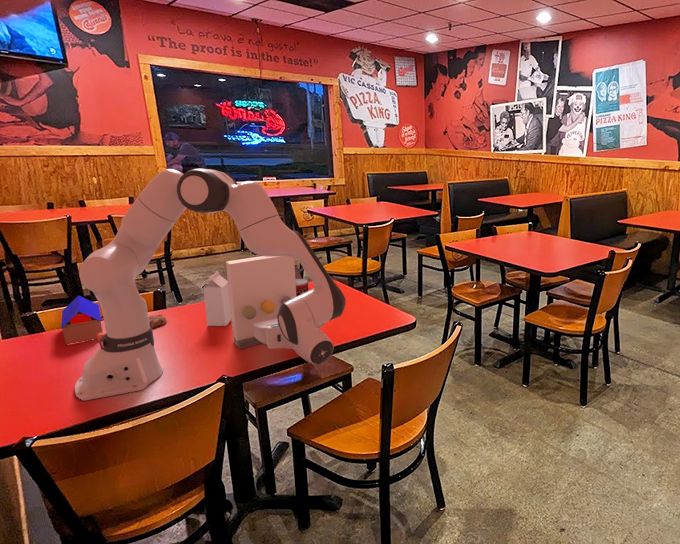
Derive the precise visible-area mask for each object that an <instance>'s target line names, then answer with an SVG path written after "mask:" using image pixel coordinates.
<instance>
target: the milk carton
mask: <svg viewBox="0 0 680 544" xmlns="http://www.w3.org/2000/svg"><path fill="white" fill-rule="evenodd" d="M219 272H220V271H216V272H215V273H214V274H212V275H211V276H209V277H208V278H207V279H206V282H207V283H206V284H205V285H204V286H203V289H202V290H203V298H204V299H203V300H204V307H205V317H206V325H207V327H227V326H228V325H229V324H230V322H232V318H231V308H230V298H229V288H228V279H226V278H225V277H223V276H222V275H220V273H219Z"/></svg>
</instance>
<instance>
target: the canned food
mask: <svg viewBox="0 0 680 544" xmlns="http://www.w3.org/2000/svg"><path fill="white" fill-rule="evenodd" d="M295 282H296V296H299V295H301V294H303V293H305V292H307V291H309V281H308V280H307V279H304V278H302V279H295Z"/></svg>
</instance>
